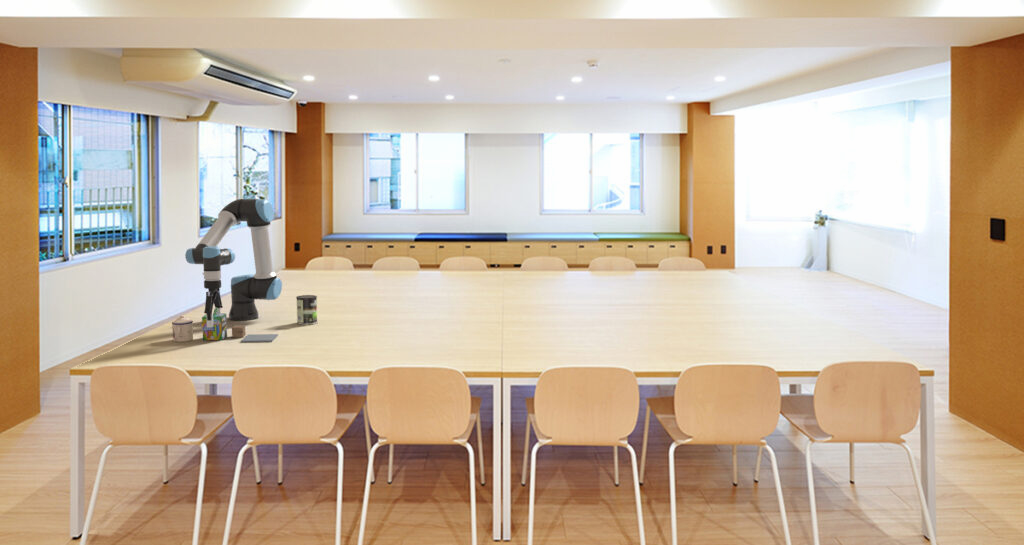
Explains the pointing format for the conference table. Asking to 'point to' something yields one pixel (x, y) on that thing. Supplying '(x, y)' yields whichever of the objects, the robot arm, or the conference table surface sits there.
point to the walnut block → (238, 331)
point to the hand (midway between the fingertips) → (214, 324)
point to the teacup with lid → (182, 329)
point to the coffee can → (306, 309)
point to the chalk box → (215, 327)
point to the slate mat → (259, 338)
